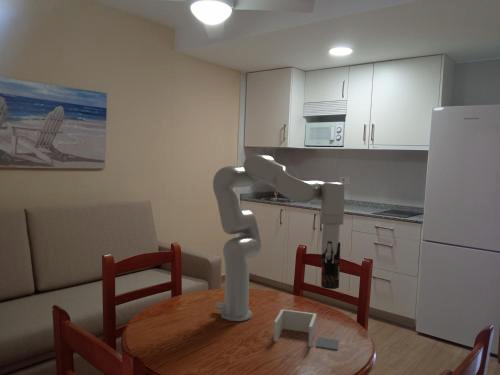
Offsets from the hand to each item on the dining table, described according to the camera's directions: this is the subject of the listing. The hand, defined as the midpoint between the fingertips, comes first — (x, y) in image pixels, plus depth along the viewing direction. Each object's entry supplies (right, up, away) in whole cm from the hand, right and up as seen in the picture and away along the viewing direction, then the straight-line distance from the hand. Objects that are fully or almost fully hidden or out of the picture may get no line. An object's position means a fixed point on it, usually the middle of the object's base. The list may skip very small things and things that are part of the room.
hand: (330, 271), depth 132 cm
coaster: (-1, -25, +2) cm, 25 cm away
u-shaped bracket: (-11, -25, +6) cm, 28 cm away
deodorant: (0, -5, 0) cm, 5 cm away
